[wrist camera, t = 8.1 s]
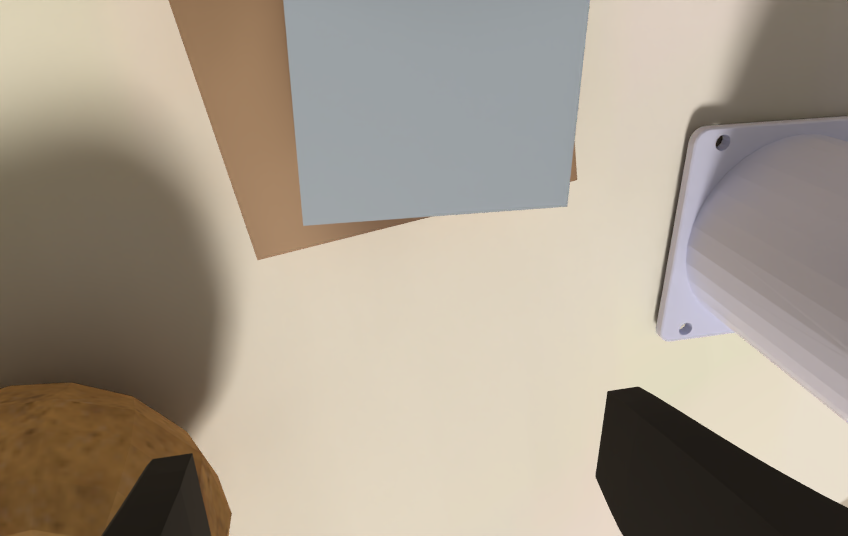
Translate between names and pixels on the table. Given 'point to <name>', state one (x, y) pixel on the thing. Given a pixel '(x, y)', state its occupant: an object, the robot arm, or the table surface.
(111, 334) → the table surface
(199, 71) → the walnut block
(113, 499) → the potato
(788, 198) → the robot arm
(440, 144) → the cube
